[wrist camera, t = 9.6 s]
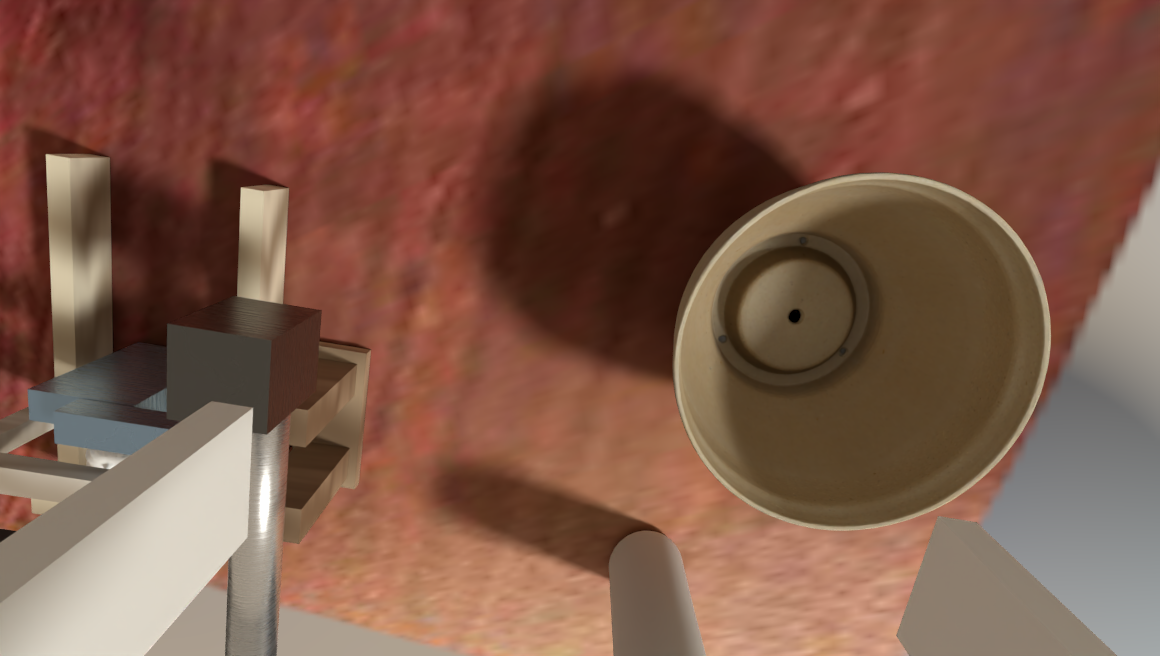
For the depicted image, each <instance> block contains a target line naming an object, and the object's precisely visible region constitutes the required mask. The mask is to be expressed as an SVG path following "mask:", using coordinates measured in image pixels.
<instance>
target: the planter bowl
mask: <svg viewBox="0 0 1160 656" xmlns="http://www.w3.org/2000/svg"><path fill="white" fill-rule="evenodd" d="M793 310H799V311H800V314H801V317H800V320H799V321H798V322H796V323H793V322H791V321H790V320H789V317H788V316H789V314H790V312H791V311H793ZM1050 343H1051V328H1050V314H1049V308H1048V302H1047V297H1046V292H1045V289H1044V285H1043V282H1042V279H1041V276H1040V274H1039V271H1038V269H1037V266H1036V264H1035V262H1034V260H1033V258H1032V256H1031V255H1030V253H1029V251H1028V250H1027V248H1026V247H1025V245H1024V244H1023V242H1022V241H1021V239H1020V238H1019V236H1018V235H1017V234H1016V233H1015V232H1014V231H1013V229H1012V228H1011V227H1010V226H1009V225H1008V224H1007V223H1006V222H1005V221H1004V220H1003V219H1002V218H1001V217H1000V216H999V215H998V214H996V213H995V212H994V211H993V210H991V209H990V208H989V207H987V206H986V205H985V204H983V203H982V202H980V201H979V200H977V199H975V198H974V197H972V196H970V195H968V194H966V193H964V192H962V191H960V190H958V189H956V188H954V187H952V186H949V185H947V184H944V183H941V182H938V181H935V180H931V179H927V178H923V177H919V176H914V175H906V174H897V173H859V174H850V175H843V176H838V177H833V178H829V179H825V180H821V181H818V182H815V183H812V184H809V185H806V186H802V187H799V188H796V189H793V190H791V191H788V192H785V193H783V194H780V195H778V196H776V197H774V198H772V199H769V200H767V201H765V202H764V203H762V204H760V205H758V206H757V207H755V208H753V209H752V210H750V211H749V212H747V213H746V214H744V215H743V216H742V217H740V218H739V219H738V220H736V221H735V222H734V223H733V224H732V225H730V226H729V227H728V228H727V229H726V230H725V231H724V232H723V233H722V234H721V235H720V236H719V237H718V238H717V239H716V240H715V241H714V242H713V244H712V245H711V246H710V247H709V249H708V250H707V251H706V252H705V254H704V255H703V257H702V258H701V260H700V261H699V263H698V264H697V266H696V268H695V269H694V271H693V273H692V275H691V277H690V279H689V281H688V283H687V286H686V288H685V290H684V293H683V296H682V299H681V302H680V305H679V309H678V313H677V318H676V324H675V331H674V346H673V363H672V364H673V382H674V390H675V397H676V401H677V406H678V409H679V413H680V416H681V419H682V422H683V425H684V428H685V430H686V433H687V435H688V437H689V439H690V441H691V443H692V445H693V447H694V449H695V450H696V452H697V453H698V455H699V457H700V458H701V460H702V461H703V463H704V464H705V465H706V467H707V468H708V469H709V470H710V472H711V473H712V474H713V475H714V476H715V477H716V478H717V479H718V480H719V481H720V482H721V483H722V484H723V485H724V486H725V487H726V488H727V489H728V490H729V491H730V492H732V493H733V494H734V495H735V496H737V497H738V498H740V499H741V500H743V501H744V502H746V503H747V504H749V505H750V506H752V507H754V508H756V509H757V510H759V511H761V512H763V513H765V514H768V515H770V516H772V517H775V518H777V519H780V520H783V521H786V522H789V523H792V524H795V525H800V526H804V527H809V528H815V529H823V530H839V531H844V530H862V529H870V528H877V527H882V526H887V525H892V524H895V523H899V522H902V521H906V520H909V519H912V518H914V517H917V516H920V515H922V514H925V513H927V512H930V511H932V510H935V509H936V508H938V507H940V506H942V505H944V504H946V503H948V502H949V501H951V500H953V499H954V498H956V497H958V496H959V495H961V494H962V493H964V492H965V491H966V490H968V489H969V488H970V487H972V486H973V485H974V484H975V483H977V482H978V481H979V480H980V479H981V478H982V477H984V476H985V475H986V474H987V473H988V472H989V471H990V470H991V469H992V468H993V467H994V466H995V465H996V464H997V463H998V462H999V461H1000V460H1001V459H1002V457H1003V456H1004V455H1005V454H1006V453H1007V451H1008V450H1009V449H1010V448H1011V446H1012V445H1013V444H1014V442H1015V441H1016V439H1017V438H1018V437H1019V435H1020V434H1021V432H1022V430H1023V429H1024V427H1025V425H1026V423H1027V422H1028V420H1029V418H1030V416H1031V415H1032V413H1033V410H1034V408H1035V406H1036V403H1037V401H1038V398H1039V396H1040V393H1041V390H1042V387H1043V384H1044V380H1045V376H1046V372H1047V367H1048V362H1049V354H1050Z"/></svg>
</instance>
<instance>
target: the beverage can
mask: <svg viewBox="0 0 1160 656" xmlns="http://www.w3.org/2000/svg"><path fill="white" fill-rule="evenodd" d="M609 579H610V597H611V617H612V635H613V653H614V656H706V654H705V650H704V646H703V642H702V638H701V634H700V631H699V627H698V623H697V619H696V615H695V611H694V607H693V603H692V599H691V595H690V591H689V587H688V583H687V578H686V574H685V570H684V566H683V562H682V557H681V554H680V552H679V550H678V548H677V546H676V545H675V544H674V543H673V542H672V540H671V539H669V538H668V537H667V536H665V535H664V534H661V533H658V532H655V531H639V532H635V533H632V534H630V535H627V536H626V537H625V538H624V539H622V540H621V541H620V542H619V543H618V544H617V546H616V547H615V548H614V550H613V552H612V554H611V556H610V561H609Z"/></svg>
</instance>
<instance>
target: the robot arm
mask: <svg viewBox="0 0 1160 656" xmlns="http://www.w3.org/2000/svg"><path fill="white" fill-rule="evenodd" d="M252 422H253V408H252V407H245V406H239V405H233V404H227V403H220V402H214V401H211V402H209V403H208V404H206V405H205V406H203V407H202V408H200V409H199V410H197V411H196V412H194V413H193V414H191V415H190V416H188V417H187V418H185V419H184V420H182V421H181V422H179V423H178V424H176V425H175V426H174V427H172V428H171V429H169V430H168V431H166V432H165V433H163V434H162V435H160V436H159V437H157V438H156V439H154V440H153V441H151V442H150V443H148V444H147V445H145V446H144V447H142V448H141V449H139V450H138V451H136V452H135V453H133V454H132V455H130V456H129V457H127V458H126V459H124V460H123V461H121V462H120V463H118V464H117V465H115V466H114V467H112V468H111V469H109V470H108V471H106V472H105V473H103V474H102V475H100V476H99V477H97V478H96V479H94V480H93V481H91V482H90V483H88V484H87V485H85V486H84V487H82V488H81V489H79V490H78V491H76V492H75V493H73V494H72V495H70V496H69V497H67V498H66V499H64V500H63V501H61V502H60V503H58V504H57V505H55V506H54V507H52V508H51V509H49V510H48V511H46V512H45V513H43V514H42V515H40V516H39V517H37V518H36V519H34V520H33V521H32V522H30V523H29V524H27V525H26V526H24V527H23V528H21V529H20V530H18V531H11V530H5V529H0V656H144V655H145V654H146V653H147V652H148V651H149V649H150V648H151V647H152V646H153V645H154V644H155V643H156V641H157V640H158V639H159V638H160V637H161V636H162V635H163V633H164V632H165V631H166V630H167V629H168V628H169V627H170V625H171V624H172V623H173V622H174V621H175V619H176V618H177V617H178V616H179V615H180V614H181V613H182V612H183V611H184V609H185V608H186V607H187V606H188V605H189V604H190V602H191V601H192V600H193V599H194V598H195V597H196V596H197V595H198V593H199V592H200V591H201V590H202V589H203V588H204V587H205V585H206V584H207V583H208V582H209V581H210V580H211V579H212V577H213V576H214V575H215V574H216V573H217V572H218V570H219V569H220V568H221V567H222V566H223V565H224V564H225V562H226V561H227V560H228V559H229V558H230V557H231V556H232V554H233V553H234V552H235V551H236V550H237V549H238V548H239V546H240V545H241V544H242V543H243V542H244V541H245V540H246V538H247V537H248V514H249V491H250V468H251V445H252ZM896 636H897V637H898V639H899V640H900V642H901V643H902V645H903V647H904V648H905V650H906V651H907V653H908V654H909V656H1117V655H1116V654H1115V653H1114V652H1113V651H1112V650H1110V648H1108V647H1107V646H1106V645H1105V644H1104V643H1103V642H1102V641H1101V640H1100V639H1099V638H1098V637H1097V636H1096V635H1095V634H1094V633H1093V632H1092V631H1090V630H1089V629H1088V628H1087V627H1086V626H1085V625H1084V624H1083V623H1082V622H1081V621H1080V620H1079V619H1077V617H1076V616H1075V615H1074V614H1073V613H1071V611H1069V610H1068V609H1067V608H1066V607H1065V606H1064V605H1063V604H1062V603H1061V602H1060V601H1059V600H1058V599H1057V598H1056V597H1055V596H1054V595H1052V593H1050V592H1049V591H1048V590H1047V589H1046V588H1045V587H1044V586H1043V585H1042V584H1041V583H1040V582H1039V581H1038V580H1037V579H1036V578H1035V577H1034V576H1032V575H1031V574H1030V573H1029V572H1028V571H1027V570H1026V569H1025V568H1024V567H1023V566H1022V565H1021V564H1020V563H1019V562H1018V561H1017V560H1016V559H1015V558H1014V557H1012V556H1011V555H1010V554H1009V553H1008V552H1007V551H1006V550H1005V549H1004V548H1003V547H1002V546H1001V545H1000V544H999V543H998V542H997V541H996V540H995V539H993V538H992V537H991V536H990V535H989V534H988V533H987V532H986V531H985V530H984V529H983V528H982V527H981V526H980V525H979V524H978V523H977V522H971V521H965V520H959V519H952V518H946V517H940V516H938V518H937V521H936V524H935V526H934V529H933V532H932V535H931V538H930V541H929V544H928V546H927V549H926V552H925V555H924V558H923V561H922V564H921V566H920V569H919V572H918V575H917V578H916V581H915V584H914V586H913V589H912V592H911V595H910V598H909V601H908V604H907V606H906V609H905V612H904V615H903V618H902V621H901V624H900V627H899V629H898V632H897V635H896Z"/></svg>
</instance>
